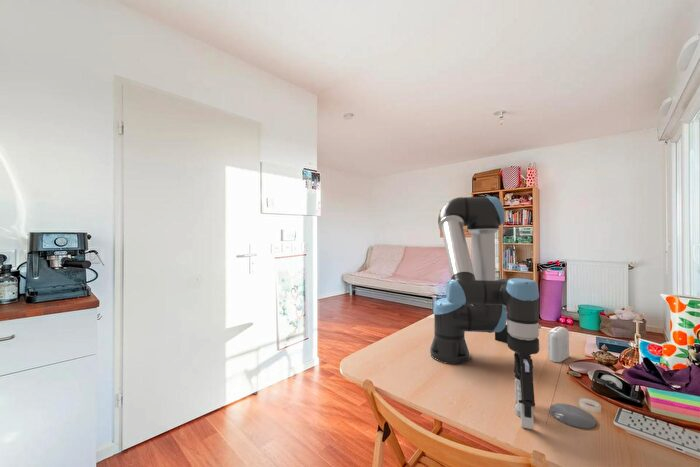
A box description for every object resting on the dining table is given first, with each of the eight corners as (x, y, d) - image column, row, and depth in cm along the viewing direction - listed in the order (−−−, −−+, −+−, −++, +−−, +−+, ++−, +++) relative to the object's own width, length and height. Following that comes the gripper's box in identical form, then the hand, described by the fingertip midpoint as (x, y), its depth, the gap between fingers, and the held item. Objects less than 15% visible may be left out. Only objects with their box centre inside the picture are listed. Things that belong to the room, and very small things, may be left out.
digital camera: (524, 344, 130) (524, 328, 130) (518, 347, 127) (518, 331, 127) (500, 337, 138) (500, 322, 138) (495, 340, 135) (494, 325, 135)
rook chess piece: (525, 421, 78) (525, 392, 78) (510, 412, 82) (510, 384, 82) (536, 417, 80) (536, 388, 79) (521, 408, 84) (521, 380, 84)
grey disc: (554, 423, 77) (554, 420, 77) (546, 402, 86) (546, 400, 86) (602, 432, 73) (602, 430, 73) (588, 410, 82) (588, 408, 82)
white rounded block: (558, 353, 119) (558, 323, 119) (570, 357, 116) (570, 326, 116) (546, 360, 114) (546, 328, 114) (559, 364, 110) (559, 331, 110)
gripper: (548, 354, 68) (549, 447, 68) (531, 324, 90) (531, 394, 90) (512, 349, 71) (513, 438, 71) (503, 321, 93) (504, 389, 93)
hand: (523, 414), depth 81 cm, fingers open, 11 cm apart
